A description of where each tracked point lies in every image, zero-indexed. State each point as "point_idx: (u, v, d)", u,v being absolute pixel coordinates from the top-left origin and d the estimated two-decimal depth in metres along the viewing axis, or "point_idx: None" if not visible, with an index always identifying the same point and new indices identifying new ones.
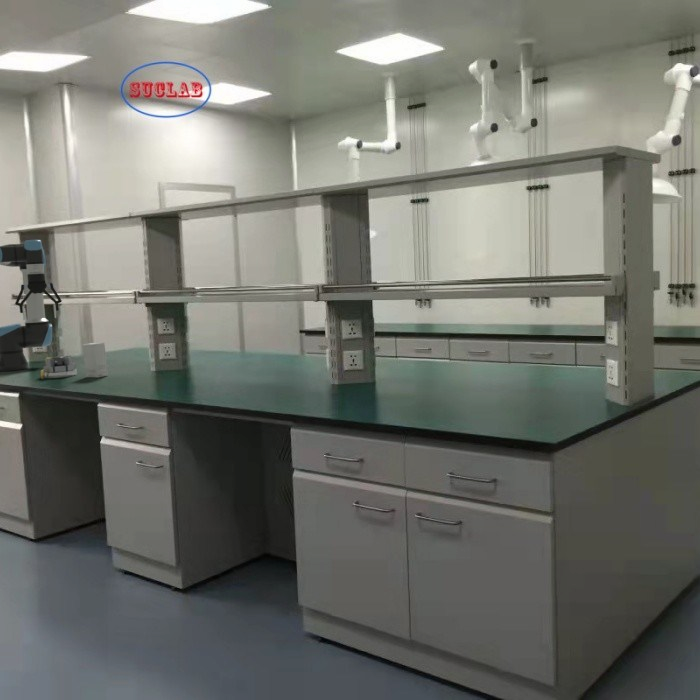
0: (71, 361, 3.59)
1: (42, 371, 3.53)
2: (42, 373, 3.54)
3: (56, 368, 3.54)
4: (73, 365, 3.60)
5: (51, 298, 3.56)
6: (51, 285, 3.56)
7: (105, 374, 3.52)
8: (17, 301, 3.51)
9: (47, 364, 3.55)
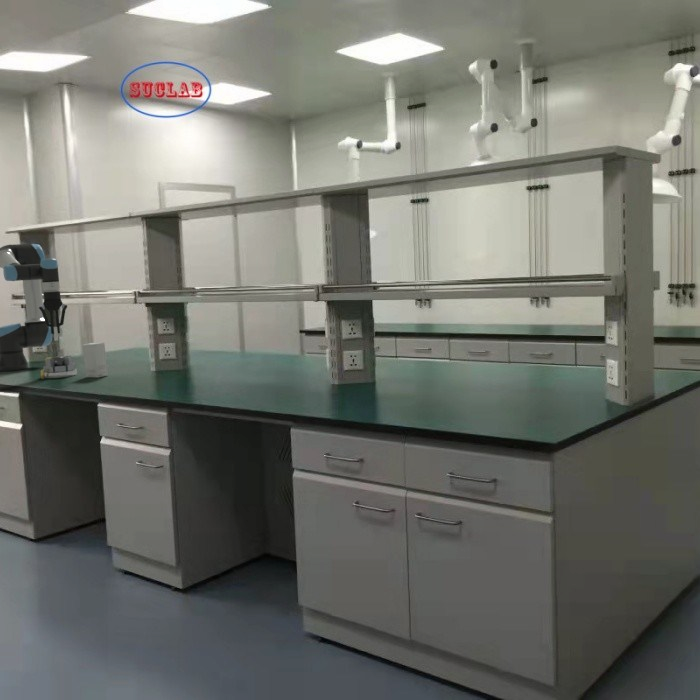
0: (71, 361, 3.59)
1: (42, 371, 3.53)
2: (42, 373, 3.54)
3: (56, 368, 3.54)
4: (73, 365, 3.60)
5: (57, 319, 3.63)
6: (65, 307, 3.65)
7: (105, 374, 3.52)
8: (47, 322, 3.61)
9: (47, 364, 3.55)
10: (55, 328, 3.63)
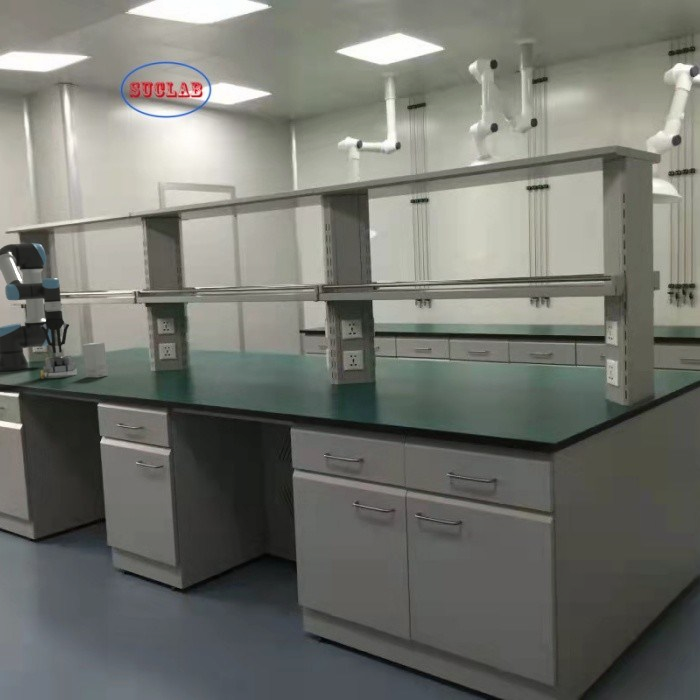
0: (71, 361, 3.59)
1: (42, 371, 3.53)
2: (42, 373, 3.54)
3: (56, 368, 3.54)
4: (73, 365, 3.60)
5: (58, 338, 3.64)
6: (67, 326, 3.66)
7: (105, 374, 3.52)
8: (49, 341, 3.62)
9: (47, 364, 3.55)
10: (57, 347, 3.64)
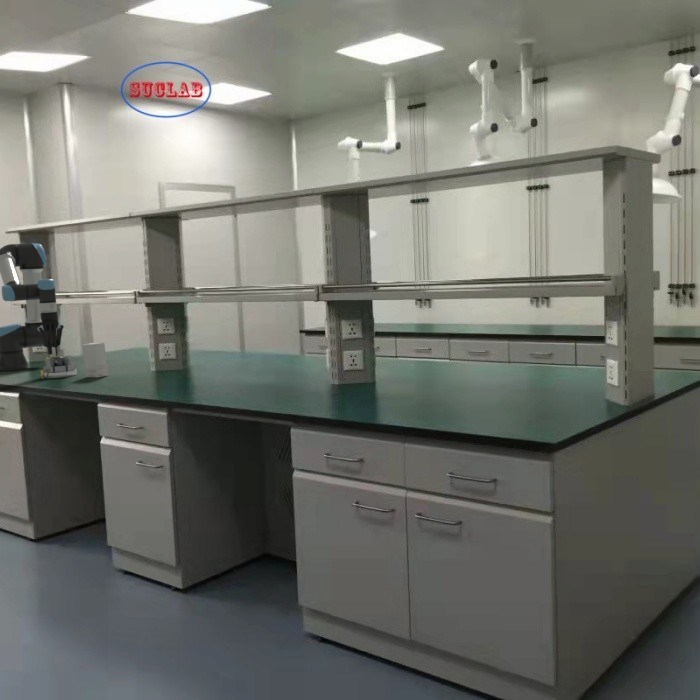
0: (71, 361, 3.59)
1: (42, 371, 3.53)
2: (42, 373, 3.54)
3: (56, 368, 3.54)
4: (73, 365, 3.60)
5: (54, 339, 3.64)
6: (62, 327, 3.66)
7: (105, 374, 3.52)
8: (46, 343, 3.60)
9: (47, 364, 3.55)
10: (53, 348, 3.63)
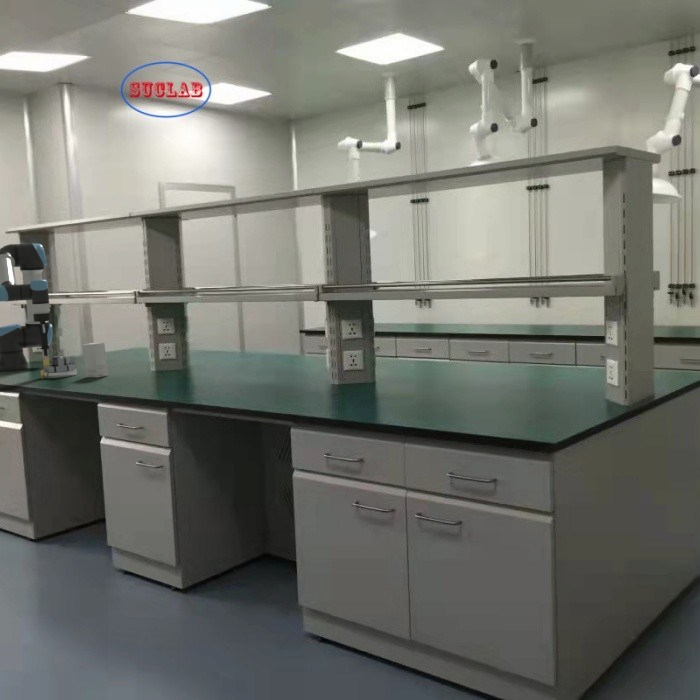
0: None
1: (42, 371, 3.53)
2: (42, 373, 3.54)
3: (69, 366, 3.58)
4: None
5: None
6: None
7: (105, 374, 3.52)
8: (47, 344, 3.56)
9: (59, 363, 3.55)
10: None
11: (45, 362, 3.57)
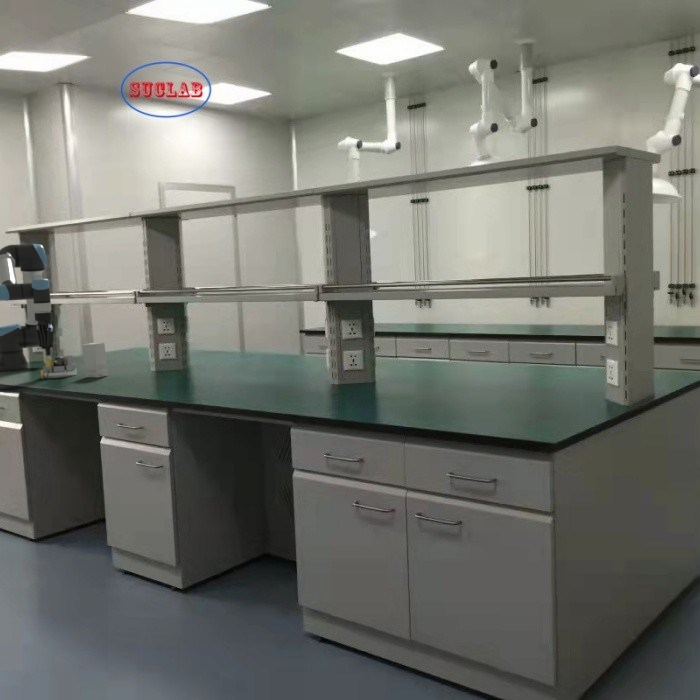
0: None
1: (42, 371, 3.53)
2: (42, 373, 3.54)
3: None
4: None
5: None
6: None
7: (105, 374, 3.52)
8: None
9: (69, 362, 3.57)
10: None
11: (50, 362, 3.55)
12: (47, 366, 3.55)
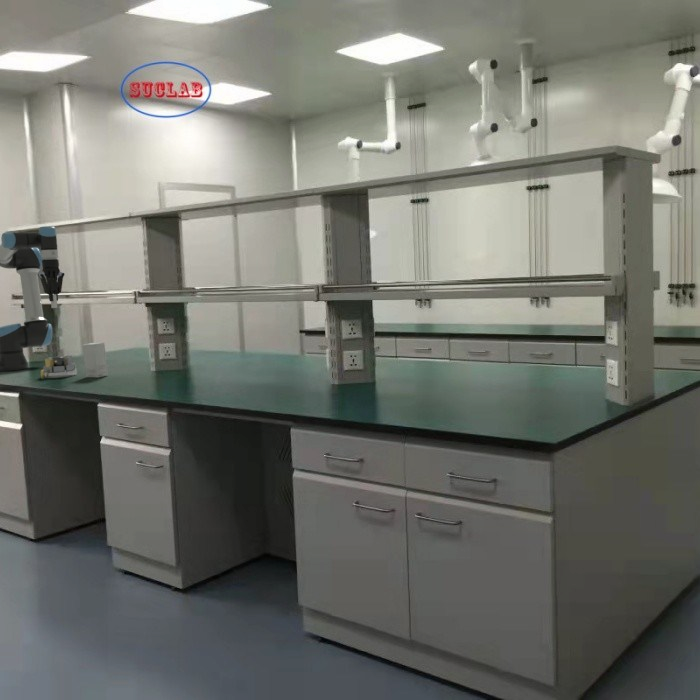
0: None
1: (42, 371, 3.53)
2: (42, 373, 3.54)
3: None
4: None
5: (56, 286, 3.68)
6: (62, 274, 3.71)
7: (105, 374, 3.52)
8: (47, 289, 3.65)
9: (69, 362, 3.57)
10: (54, 295, 3.68)
11: (50, 362, 3.55)
12: (47, 366, 3.55)
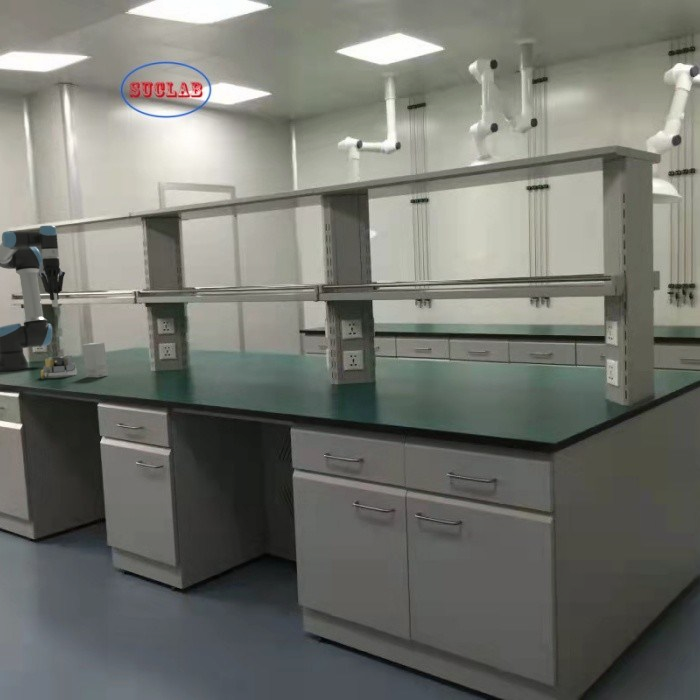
0: None
1: (42, 371, 3.53)
2: (42, 373, 3.54)
3: None
4: None
5: (56, 285, 3.69)
6: (63, 273, 3.72)
7: (105, 374, 3.52)
8: (48, 288, 3.65)
9: (69, 362, 3.57)
10: (55, 294, 3.68)
11: (50, 362, 3.55)
12: (47, 366, 3.55)
